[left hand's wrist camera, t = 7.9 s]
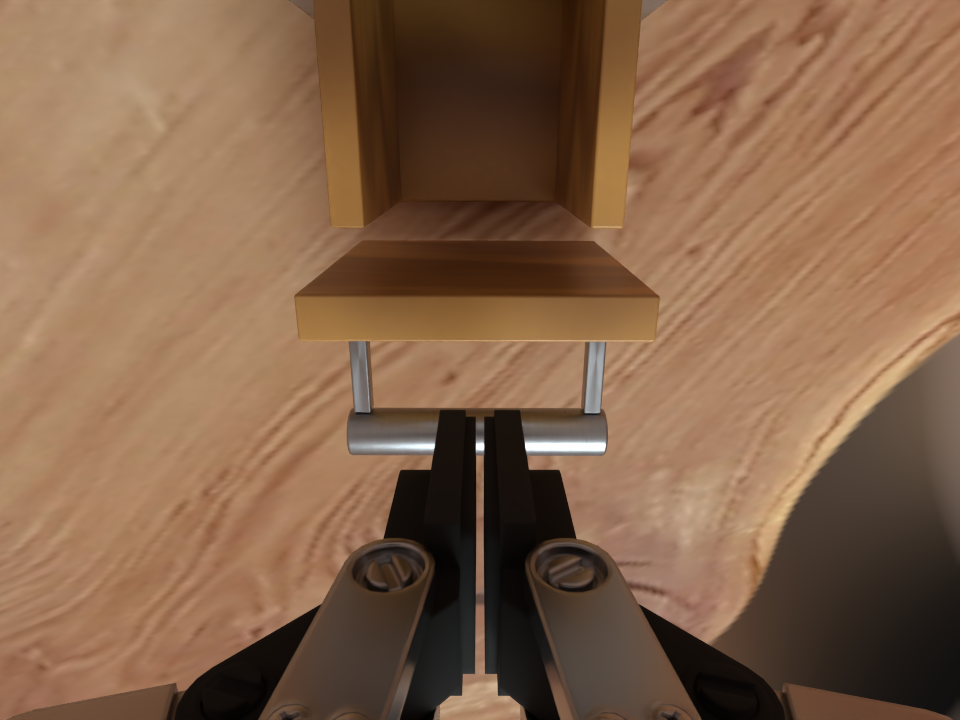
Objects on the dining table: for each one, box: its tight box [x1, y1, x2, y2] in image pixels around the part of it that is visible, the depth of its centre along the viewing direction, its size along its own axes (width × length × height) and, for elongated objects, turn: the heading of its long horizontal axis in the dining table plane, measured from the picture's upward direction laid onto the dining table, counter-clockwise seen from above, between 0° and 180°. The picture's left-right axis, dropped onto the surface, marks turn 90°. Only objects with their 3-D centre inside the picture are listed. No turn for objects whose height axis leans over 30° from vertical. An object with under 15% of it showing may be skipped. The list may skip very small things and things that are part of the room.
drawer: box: [294, 0, 660, 456], centre depth 17 cm, size 24×9×9 cm, turn 0°
